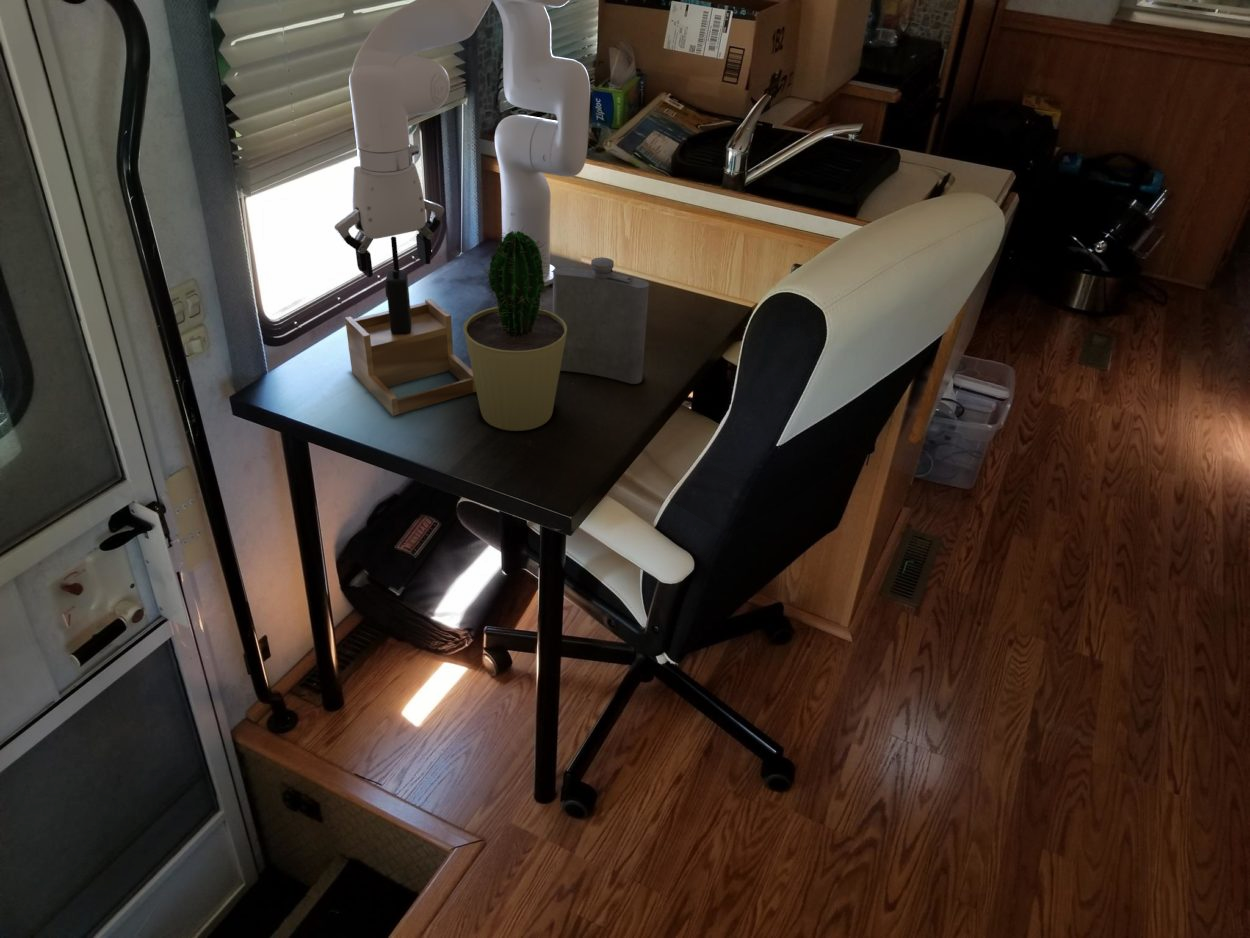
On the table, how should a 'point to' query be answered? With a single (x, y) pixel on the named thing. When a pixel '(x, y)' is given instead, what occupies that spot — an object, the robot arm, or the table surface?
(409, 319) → the walkie-talkie
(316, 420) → the table surface
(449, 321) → the step shelf
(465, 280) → the table surface
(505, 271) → the potted cactus
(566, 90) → the robot arm
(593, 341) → the hip flask
